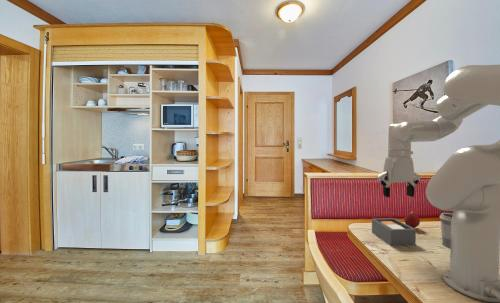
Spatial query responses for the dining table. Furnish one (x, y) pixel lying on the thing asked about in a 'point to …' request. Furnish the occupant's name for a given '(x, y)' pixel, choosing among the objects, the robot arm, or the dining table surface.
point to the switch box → (394, 232)
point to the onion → (411, 220)
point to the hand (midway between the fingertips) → (398, 196)
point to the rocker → (391, 225)
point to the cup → (446, 228)
